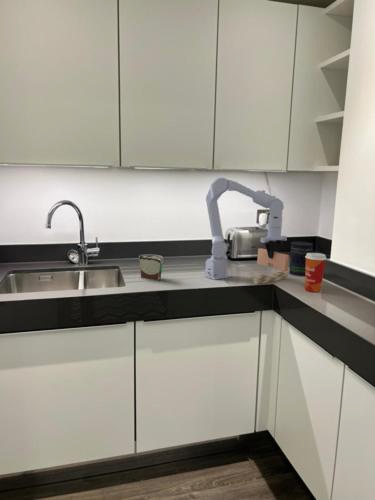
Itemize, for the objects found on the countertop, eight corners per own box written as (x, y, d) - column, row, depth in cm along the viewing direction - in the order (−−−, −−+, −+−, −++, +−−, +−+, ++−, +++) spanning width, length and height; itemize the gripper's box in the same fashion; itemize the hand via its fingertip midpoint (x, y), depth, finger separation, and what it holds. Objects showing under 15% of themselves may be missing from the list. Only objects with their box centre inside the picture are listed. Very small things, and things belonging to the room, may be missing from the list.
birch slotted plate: (256, 284, 160) (256, 277, 159) (253, 283, 161) (253, 276, 161) (287, 278, 171) (288, 271, 170) (284, 277, 172) (284, 271, 172)
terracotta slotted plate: (287, 271, 159) (289, 255, 158) (284, 271, 158) (285, 255, 157) (260, 263, 172) (261, 248, 171) (257, 263, 171) (258, 248, 169)
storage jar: (308, 277, 174) (311, 245, 171) (287, 274, 178) (289, 243, 175) (311, 272, 183) (314, 242, 180) (290, 270, 187) (293, 240, 184)
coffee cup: (299, 287, 157) (302, 252, 154) (318, 287, 157) (321, 252, 155) (306, 293, 149) (310, 256, 146) (326, 293, 149) (330, 256, 146)
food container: (169, 278, 164) (169, 256, 162) (161, 281, 159) (161, 258, 157) (146, 274, 170) (146, 253, 169) (138, 277, 165) (138, 255, 163)
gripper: (270, 228, 154) (267, 261, 157) (293, 227, 162) (290, 257, 165) (257, 226, 160) (255, 258, 162) (280, 225, 168) (278, 254, 171)
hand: (272, 257), depth 164 cm, fingers closed on terracotta slotted plate, 2 cm apart
